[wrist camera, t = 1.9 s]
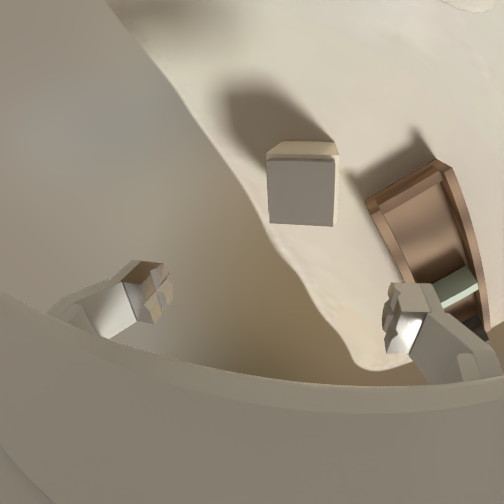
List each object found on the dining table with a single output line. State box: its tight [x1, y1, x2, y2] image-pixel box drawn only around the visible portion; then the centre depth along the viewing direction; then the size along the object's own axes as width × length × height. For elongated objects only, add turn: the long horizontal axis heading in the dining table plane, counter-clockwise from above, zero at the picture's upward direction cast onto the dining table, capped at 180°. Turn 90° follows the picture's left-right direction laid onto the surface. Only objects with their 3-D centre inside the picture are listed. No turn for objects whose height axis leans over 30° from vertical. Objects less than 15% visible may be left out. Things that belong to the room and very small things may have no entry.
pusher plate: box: [432, 265, 478, 309], centre depth 24 cm, size 1×6×4 cm, turn 129°
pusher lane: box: [365, 159, 491, 344], centre depth 23 cm, size 23×9×6 cm, turn 39°
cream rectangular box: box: [266, 141, 339, 227], centre depth 21 cm, size 5×5×9 cm
